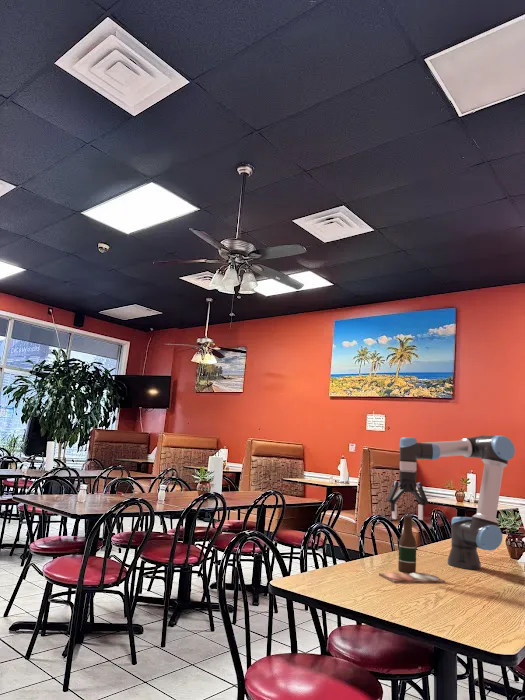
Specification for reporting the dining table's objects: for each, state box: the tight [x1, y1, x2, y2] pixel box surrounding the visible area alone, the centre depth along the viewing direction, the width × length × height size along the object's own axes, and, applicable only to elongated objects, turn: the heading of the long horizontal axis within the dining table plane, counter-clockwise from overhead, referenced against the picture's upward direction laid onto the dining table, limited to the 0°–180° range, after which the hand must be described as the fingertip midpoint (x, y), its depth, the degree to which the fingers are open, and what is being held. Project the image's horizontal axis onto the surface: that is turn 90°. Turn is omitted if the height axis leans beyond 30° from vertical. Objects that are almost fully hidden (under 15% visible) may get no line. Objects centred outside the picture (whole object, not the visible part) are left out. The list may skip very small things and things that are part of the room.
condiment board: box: [378, 572, 446, 584], centre depth 212 cm, size 24×12×1 cm, turn 106°
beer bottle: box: [397, 514, 417, 574], centre depth 228 cm, size 8×8×24 cm
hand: (407, 519), depth 230 cm, fingers open, 13 cm apart
